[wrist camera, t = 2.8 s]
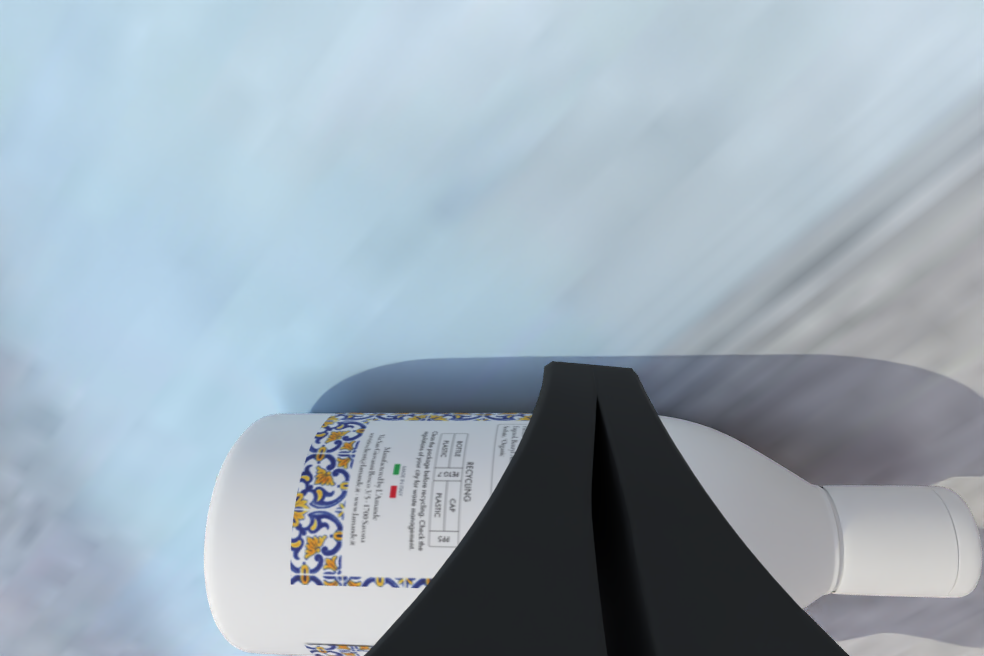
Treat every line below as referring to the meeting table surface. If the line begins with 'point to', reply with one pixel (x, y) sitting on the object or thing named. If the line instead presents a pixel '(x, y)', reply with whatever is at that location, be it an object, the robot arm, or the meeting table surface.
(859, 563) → the bath foam
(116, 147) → the meeting table surface
